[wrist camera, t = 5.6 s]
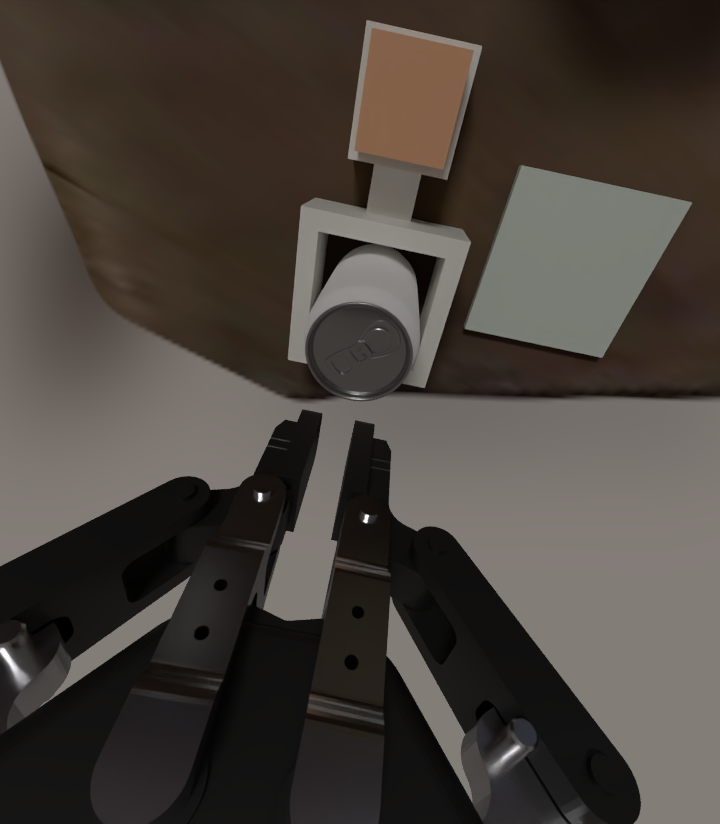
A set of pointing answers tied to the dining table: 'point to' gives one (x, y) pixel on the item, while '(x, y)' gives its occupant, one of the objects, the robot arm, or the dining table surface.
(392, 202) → the white piece
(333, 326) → the can
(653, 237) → the pad
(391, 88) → the light brown square block
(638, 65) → the dining table surface
